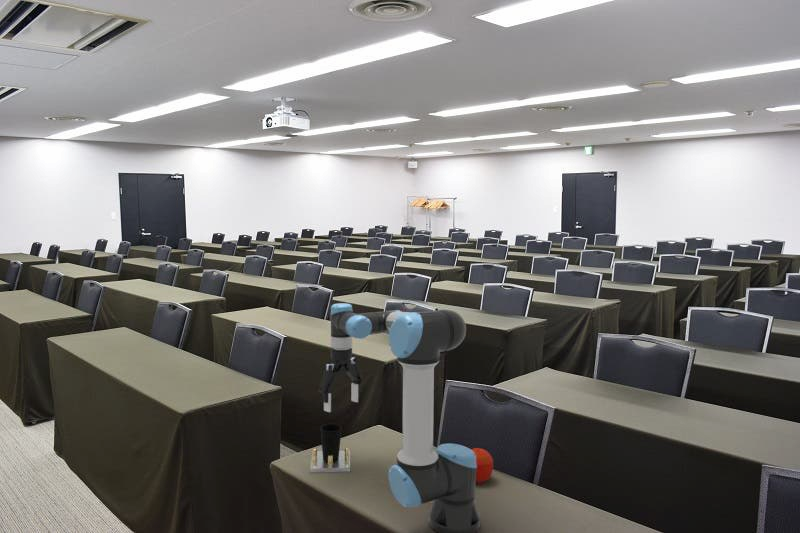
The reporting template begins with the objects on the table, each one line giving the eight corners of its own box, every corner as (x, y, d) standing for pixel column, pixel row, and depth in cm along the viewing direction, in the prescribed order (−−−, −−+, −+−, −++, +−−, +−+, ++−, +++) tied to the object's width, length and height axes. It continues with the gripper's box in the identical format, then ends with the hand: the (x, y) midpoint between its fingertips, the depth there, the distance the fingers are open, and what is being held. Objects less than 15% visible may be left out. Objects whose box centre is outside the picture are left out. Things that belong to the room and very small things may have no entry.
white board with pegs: (350, 471, 198) (350, 456, 198) (310, 472, 197) (310, 457, 196) (350, 454, 212) (350, 440, 212) (312, 455, 211) (312, 441, 210)
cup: (316, 462, 202) (316, 430, 201) (325, 453, 209) (325, 422, 208) (336, 465, 200) (336, 432, 198) (344, 456, 207) (344, 425, 206)
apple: (497, 478, 196) (498, 446, 195) (484, 490, 187) (486, 456, 186) (470, 470, 201) (472, 439, 200) (457, 481, 193) (458, 449, 192)
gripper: (358, 340, 210) (357, 395, 211) (307, 352, 190) (307, 413, 192) (373, 343, 205) (372, 399, 207) (322, 355, 186) (322, 418, 188)
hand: (341, 406), depth 200 cm, fingers open, 13 cm apart
